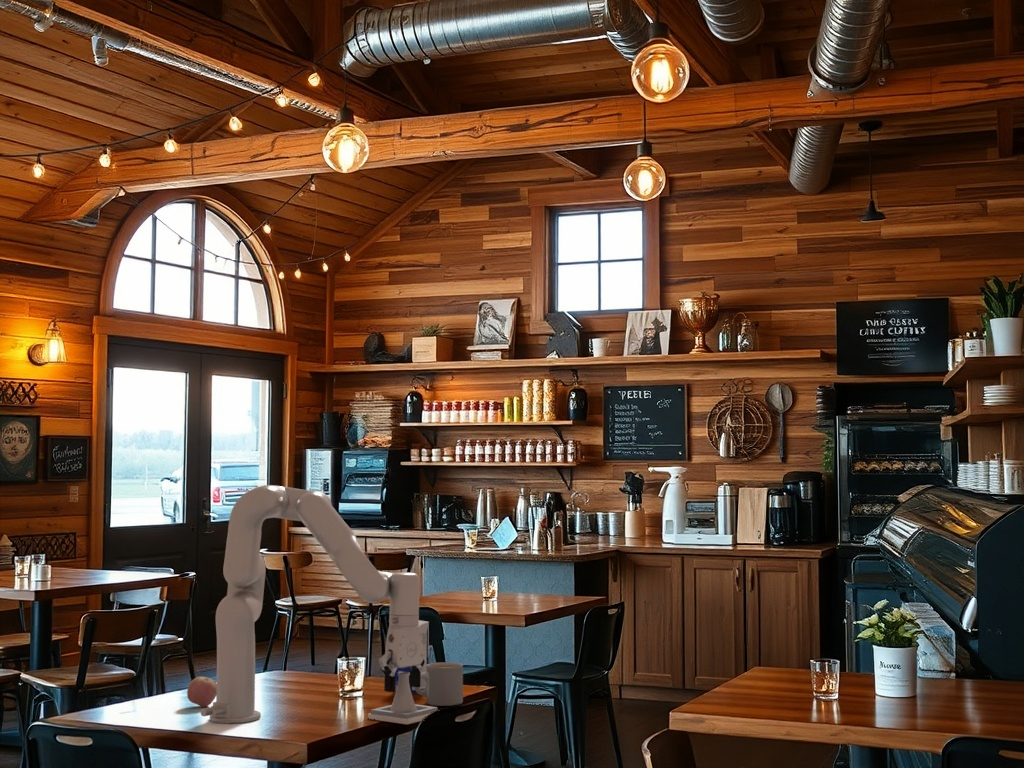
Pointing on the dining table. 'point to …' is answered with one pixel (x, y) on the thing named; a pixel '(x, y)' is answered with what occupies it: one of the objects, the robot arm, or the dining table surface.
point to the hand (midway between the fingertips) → (402, 689)
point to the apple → (202, 691)
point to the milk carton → (425, 641)
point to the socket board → (401, 714)
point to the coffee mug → (443, 684)
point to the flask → (403, 695)
